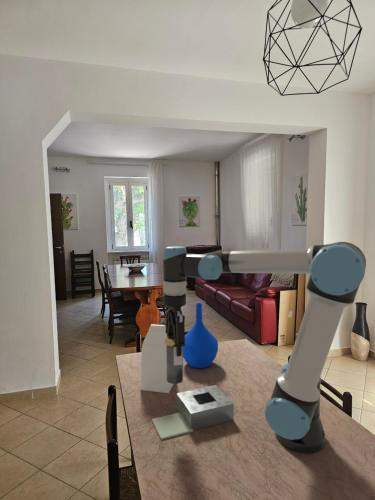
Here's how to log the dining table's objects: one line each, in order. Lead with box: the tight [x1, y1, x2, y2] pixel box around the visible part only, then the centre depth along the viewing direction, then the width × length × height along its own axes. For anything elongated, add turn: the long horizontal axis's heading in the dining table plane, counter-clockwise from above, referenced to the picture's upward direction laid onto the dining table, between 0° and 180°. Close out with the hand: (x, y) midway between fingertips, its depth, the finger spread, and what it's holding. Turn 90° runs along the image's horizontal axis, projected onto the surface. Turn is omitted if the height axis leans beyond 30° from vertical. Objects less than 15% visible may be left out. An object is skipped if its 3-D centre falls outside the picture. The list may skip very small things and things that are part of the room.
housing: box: [176, 384, 235, 431], centre depth 118 cm, size 14×16×6 cm
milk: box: [140, 323, 174, 394], centre depth 139 cm, size 12×12×26 cm
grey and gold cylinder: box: [165, 336, 184, 385], centre depth 111 cm, size 7×7×14 cm
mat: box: [151, 411, 194, 441], centre depth 112 cm, size 11×11×1 cm
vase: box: [183, 302, 219, 369], centre depth 159 cm, size 18×18×30 cm
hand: (174, 359), depth 111 cm, fingers closed on grey and gold cylinder, 7 cm apart
